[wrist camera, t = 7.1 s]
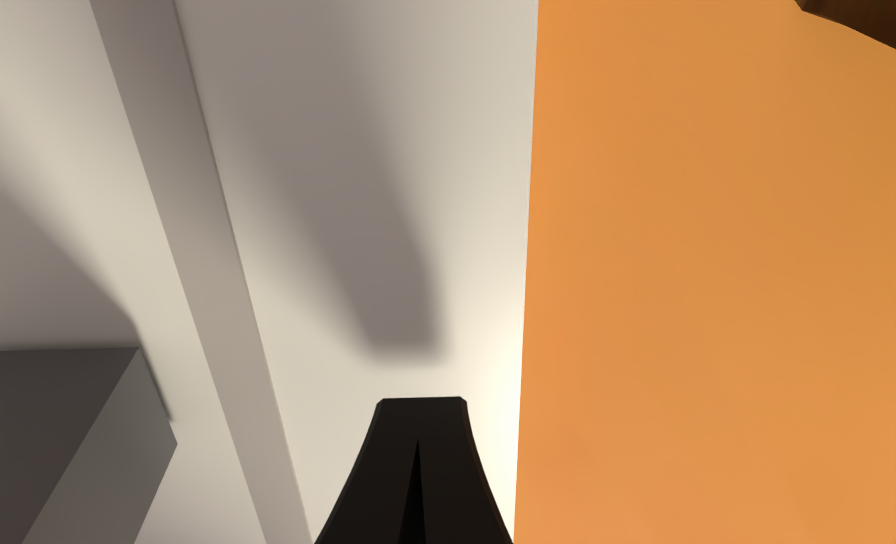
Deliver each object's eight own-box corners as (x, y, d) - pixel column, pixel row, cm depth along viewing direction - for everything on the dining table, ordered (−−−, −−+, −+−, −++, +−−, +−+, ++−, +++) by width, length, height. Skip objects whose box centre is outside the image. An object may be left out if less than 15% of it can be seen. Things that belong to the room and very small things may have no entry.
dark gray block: (177, 443, 12) (76, 674, 9) (19, 448, 12) (-141, 679, 9) (139, 347, 11) (1, 576, 7) (-39, 352, 11) (-255, 581, 7)
